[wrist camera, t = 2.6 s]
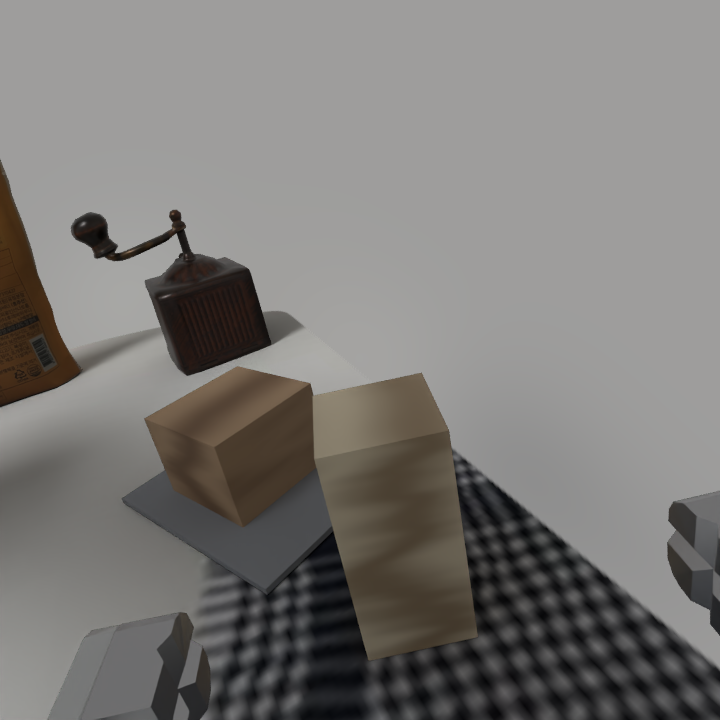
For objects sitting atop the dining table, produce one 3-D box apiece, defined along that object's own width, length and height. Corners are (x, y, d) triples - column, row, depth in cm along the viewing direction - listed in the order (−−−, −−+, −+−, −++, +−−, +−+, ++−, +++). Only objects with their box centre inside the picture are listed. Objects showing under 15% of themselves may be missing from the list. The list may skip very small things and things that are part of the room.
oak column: (368, 661, 24) (314, 459, 19) (358, 575, 28) (312, 396, 24) (477, 637, 24) (449, 430, 19) (450, 555, 28) (421, 372, 24)
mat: (123, 503, 39) (121, 498, 38) (241, 425, 46) (239, 421, 46) (267, 594, 28) (265, 589, 28) (389, 476, 36) (388, 471, 35)
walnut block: (173, 490, 38) (144, 418, 36) (257, 432, 43) (237, 366, 41) (243, 527, 33) (214, 447, 31) (329, 456, 38) (310, 383, 36)
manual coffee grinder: (245, 323, 71) (203, 184, 64) (274, 345, 62) (229, 185, 54) (125, 365, 65) (64, 217, 58) (137, 395, 56) (67, 224, 49)
